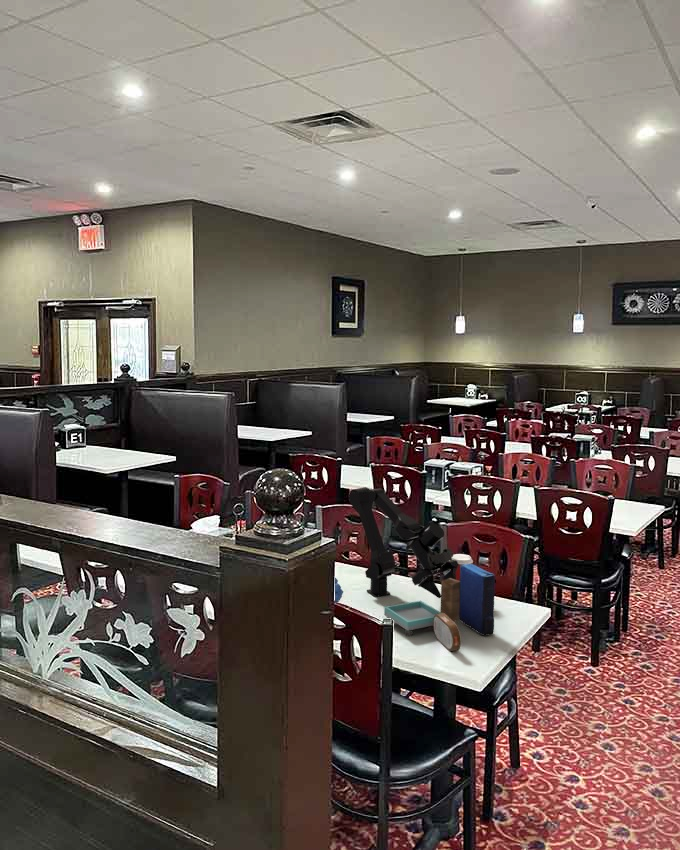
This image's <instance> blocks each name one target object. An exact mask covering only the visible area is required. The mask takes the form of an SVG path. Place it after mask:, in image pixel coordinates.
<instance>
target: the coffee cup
mask: <svg viewBox="0 0 680 850" xmlns="http://www.w3.org/2000/svg"><path fill="white" fill-rule="evenodd" d="M452 560H456V561H457V562H458V564H459V566H458V569H457V570H456V580H458V581H460V566H461V565H465V564H473V562H474V560H473V559H472V557H471V556H470V555H468V554H463V553H456V554H454V553H453V557H452ZM449 561H450V560H449Z"/></svg>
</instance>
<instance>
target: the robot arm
mask: <svg viewBox="0 0 680 850" xmlns="http://www.w3.org/2000/svg"><path fill="white" fill-rule="evenodd" d="M348 500H349V501H348V502H350V504H351V507H352V509H353V510H354V511H355V512H356V513H358V515H359V518H360V522H361V524H362V527H363V530H364V534H365V536H366V540H367V543H368V547H369V549H370V551H371V552H370V558H369V563H370V567H368V568H367V569H366V570H365V577H366V578H367V579H370V588H369V589H366V592H367V593H368V594H370V595H371V596H374V597H376V598H377V597H381V596H388V595H391V592H389V591H388V577H390V576H392V575H393V572H394V570H395V568H396V559H395V557H394V553H393V551H392V550H388V549H386V548H385V545H384V542H383V539H382V537H381V533H380V530H379V527H378V524H377V521H376V518H375V515H374V511H373V506H374V503H375V505H376V506H377V507H378V508H379V509H380V510H381V511H382V512H383V514H384V515H386V517H387V518H388V519H389V520H390V521H391V522H392V523H393V526H394V531H395V532H396V534H397V535H398V536H399V538H400V539H401V540H402V541H407V542H406V546H405V550H406V551H412V553H413V554H414V556H415V558H416V559H417V560H418V561H416V564H417V566H419V565H420V566H421V567H422V569H419V570H418V571H417V572H416V573H415V574H414V575H413V576H411V582H412V584H413V585H414V586H418V588H422V589H424V590H425V591H427V592H429V593H430V594H432V595H433V596H434V597H436V598H438V599H441V591H440V590H439V589H438V587H437V585H436V583H435V581H434V580H435V579H434V576H436V575H441V576H443V577H442V579H443V580H446V579H449V578H452V579H455V580H456V570H457V569H458V566H459V564H458V562H457V561H456V560H452V557H453V555H454V552H453V550H451V548H450V547H446V548H444V549H443V550H442V552H440V553H438V552H437V551H436V550H434V551H433V549H431V548H432V547H434V546H435V545H436V544H438V542H439V541H441V540H442V539H443V538H444V537H445V531H444V529H443V527H441V526H440V525H438V524H437V523H435V522H434V521H428V522H426V524H425V526H423V525H421V524H420V523H419V522H418V521H417V520H415V519H414V518H413V517H411V516H409V515H407V514H405V513H404V512H403V511H402V510H401V509H400V507H398V505H396V504H395V502H394V501H393V500H392V499H391V498H390V496H388V494H386V493H385V490H384V489H383V488H372V489H371V488H369V487H366V486H365V487H364V486H363V487H359V488H358V487H357V488H354V489H351V490H350V491H349V494H348ZM412 539H413V540H412ZM408 540H410V541H408ZM449 560H450V561H449Z"/></svg>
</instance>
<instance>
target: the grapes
mask: <svg viewBox="0 0 680 850" xmlns="http://www.w3.org/2000/svg"><path fill="white" fill-rule="evenodd" d="M338 582H339V580H338V579H337V578H336V577H335V602H340V600H341V599H342V597H343V596H342V595H343V594H344V590H343V589H342V586H341V585H340V584H339V583H338Z"/></svg>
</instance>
